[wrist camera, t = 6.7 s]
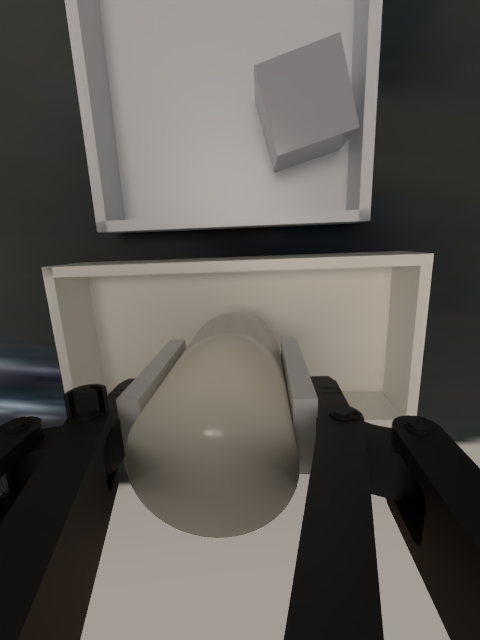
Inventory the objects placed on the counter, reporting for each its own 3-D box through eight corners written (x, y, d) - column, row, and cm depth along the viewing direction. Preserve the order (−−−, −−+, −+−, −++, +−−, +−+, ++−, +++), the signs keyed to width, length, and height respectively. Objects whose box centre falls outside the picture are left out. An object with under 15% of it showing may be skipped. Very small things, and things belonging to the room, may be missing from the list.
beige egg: (187, 313, 17) (114, 386, 9) (280, 311, 17) (300, 385, 8) (194, 397, 19) (135, 535, 10) (281, 396, 18) (299, 540, 10)
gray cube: (273, 172, 19) (277, 156, 16) (255, 101, 19) (253, 65, 15) (339, 150, 19) (359, 127, 15) (322, 76, 18) (340, 31, 14)
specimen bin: (101, 398, 24) (71, 428, 20) (80, 262, 22) (41, 267, 18) (388, 396, 23) (415, 428, 19) (400, 250, 20) (433, 253, 17)
